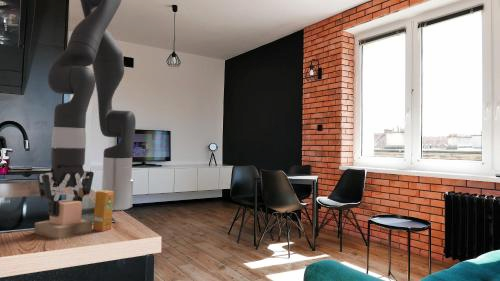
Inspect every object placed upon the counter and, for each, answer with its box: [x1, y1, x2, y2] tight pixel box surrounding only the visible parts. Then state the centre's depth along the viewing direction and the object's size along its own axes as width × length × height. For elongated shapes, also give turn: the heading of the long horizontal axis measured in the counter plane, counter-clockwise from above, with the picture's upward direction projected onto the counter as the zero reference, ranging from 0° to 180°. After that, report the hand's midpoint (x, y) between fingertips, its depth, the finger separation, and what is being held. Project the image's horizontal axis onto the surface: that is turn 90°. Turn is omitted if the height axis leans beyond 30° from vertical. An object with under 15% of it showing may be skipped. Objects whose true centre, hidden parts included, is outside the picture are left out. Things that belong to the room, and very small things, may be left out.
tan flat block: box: [34, 218, 93, 240], centre depth 87 cm, size 9×9×3 cm
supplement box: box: [92, 190, 114, 232], centre depth 91 cm, size 3×3×10 cm
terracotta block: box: [48, 199, 83, 225], centre depth 87 cm, size 5×5×5 cm
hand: (65, 213), depth 87 cm, fingers open, 5 cm apart
